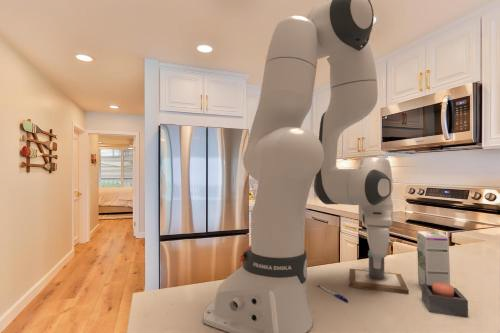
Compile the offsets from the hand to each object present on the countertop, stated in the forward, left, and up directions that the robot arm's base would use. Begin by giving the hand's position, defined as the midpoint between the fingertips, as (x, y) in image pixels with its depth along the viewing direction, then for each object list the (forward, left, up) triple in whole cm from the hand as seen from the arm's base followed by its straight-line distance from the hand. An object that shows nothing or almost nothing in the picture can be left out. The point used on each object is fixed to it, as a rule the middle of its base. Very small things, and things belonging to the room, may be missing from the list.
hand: (375, 264), depth 78 cm
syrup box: (+14, 0, -5) cm, 15 cm away
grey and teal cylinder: (0, 0, -4) cm, 4 cm away
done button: (+13, -11, -2) cm, 17 cm away
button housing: (+13, -11, -5) cm, 18 cm away
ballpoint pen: (-11, -12, -5) cm, 17 cm away
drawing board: (0, 0, -5) cm, 5 cm away
